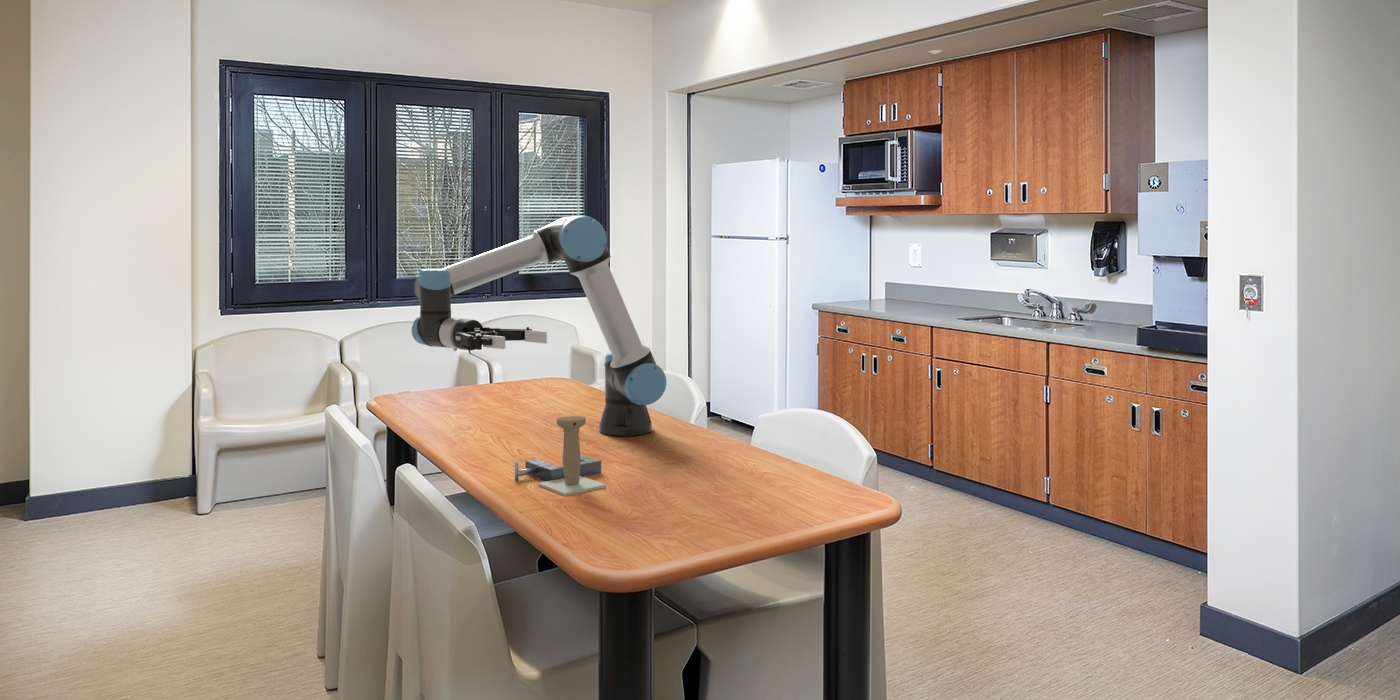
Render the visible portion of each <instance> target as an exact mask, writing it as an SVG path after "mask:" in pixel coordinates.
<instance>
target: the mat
mask: <svg viewBox="0 0 1400 700" xmlns="http://www.w3.org/2000/svg"><path fill="white" fill-rule="evenodd" d="M578 478H580V479H579V483H578V484H575V485H567V484H565V481H564V478H562V479H556V480H551V481H541V482H538V484H537V486H538V487H541V488H543V489H546V490H549V491H551V492H554V493H556V494H558V495H561V496H564V497H567V496H571V495H575V494H581V493H585V492H591V491H594V490H600V489H605V488H607V484H605V483H602V482H600V481H597V480H593V479H591V478H588V477H587V476H580V475H579V477H578Z"/></svg>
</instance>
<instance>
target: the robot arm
mask: <svg viewBox="0 0 1400 700" xmlns="http://www.w3.org/2000/svg"><path fill="white" fill-rule="evenodd" d="M607 238H608V237H607V233H606V230H605V228H604V227H603V225H602V224H601V223H600V222H599V221H598V220H597V219H595V218H593V217H591V216H588V215H584V214H577V215H567V216H563V217H561V218H559V219H557V220H555V221H553V222H551V223H548V224H546V225H544V226H543V227H540V228H538V229H535V230H532V233H531V235H529V236H526V237H524V238H521V239H519V240H516V241H513V242H510V243H508V244H505V245H503V246H500V247H497V248H494V249H491V250H489V251H486V252H483V253H481V254H479V255H478V254H477V255H476V256H473V257H470V258H468V259H465V260H462V261H460V262H456V263H454V264H451V265H448V266H446V267H443V268H423V269H421V270H420V271H419V274H418V275H419V276H418V277H417V278H416V279H415V282H414V284H413V292H414V296H416V298H417V299H418V300H419V307H420V310H419V311H420V313H419V316H418V317H416V318H415V319H414V320H413V324H412V326H411V335H412V338H413V340H414V341H416V343H418V344H420V345H425V346H427V347H428V346H429V347H431V348H433V347H434V348H435V347H436V348H437V347H438V348H447V349H452V350H453V351H454V352H456V351H458V349H459V350H465V351H475V350H477V351H479V350H483V348H488V349H489V348H491V349H499V350H505V349H506V341H515V342H516V341H517V342H518V341H524V342H529V343H536V344H537V343H538V344H547V343H548V332H547V331H541V330H533V329H532V328H530V327H529V326H526V328H525V329H524V328H523V329H522V328H500V327H489V326H483V325H482V324H481V322H480V321H478V320H476V319H470V318H460V317H452V307H451V306H452V305H451V303H452V300H451V298H452V296H454V295H457V294H459V293H460V294H461V293H462V292H465V291H468V290H470V289H473V288H475V287H479V286H481V285H484V284H486V283H489V282H491V281H494V280H497V279H500V278H503V277H505V276H508V275H510V274H513V273H516V272H518V271H521V270H524V269H526V268H527V269H528V268H529V267H531V266H534V265H537V264H540V263H543V264H546V265H547V264H550V263H552V262H553V263H554V262H557V261H560V260H561V261H562V260H563V261H564V262H565V265H566V267H567V269H568V272H569V274H570V275H573V276H574V277H575V276H576V277H577V278H578V281H580V284H581V287H582V289H583V291H584V294H585V296H586V298H587V301H588V303H589V305H590V307H591V310H592V313H593V315H594V317H595V320H596V321H597V323H598V326H599V328H600V330H601V333H602V336H603V337H604V338H603V339H604V340H605V342H606V344H607V347H608V350H609V351H610V352H608V353H607V354H605V358H604V359H605V360H604V365H603V366H604V385H605V386H604V393H605V394H604V397H605V399H604V400H605V401H604V402H605V403H604V404H605V405H604V408H603V411H602V414H601V418H600V421H599V425H598V426H599V432H600V433H601V434H603V435H608V436H618V437H630V436H631V437H632V436H641V435H646V434H650V433H651V432H653V424H652V423H653V422H652V420H651V417H650V413H649V410H648V407H647V406H649V405H652V404H654V403H656V402H658V401H659V400H660V399H661V398H662V396H663V395H664V393H665V391H666V388H667V385H668V384H667V383H668V382H667V376H666V374H665V372H664V370H663V368H661V367H660V366H659V364H657V362H656V360H655V358H654V356H653V354H652V351H651V348H650V347H647V346H645V345H643V343H642V342H641V339H640V337H639V334H638V332H637V330H636V328H635V325H634V322H633V320H632V319H631V315H630V314H629V311H628V309H627V306H626V304H625V301H624V299H623V297H622V294H621V292H620V290H619V287H618V285H617V283H616V280H615V278H614V275H613V274H612V271H611V268H610V266H609V262H610V260H611V257H612V256H611V254H610V251H609V248H608V246H607V243H608V242H607Z"/></svg>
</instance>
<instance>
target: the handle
mask: <svg viewBox="0 0 1400 700" xmlns="http://www.w3.org/2000/svg"><path fill="white" fill-rule="evenodd" d="M586 419H587V418H586V417H585V416H573V415H572V416H561V417H557V418H556V425H557V426H558V427H560V428H561V429H563V446H562V448H563V449H562V465H563V472H564V477H565V478H564V481H565V484H567V485H575V484H578V483H579V479H580V478H578V477H579V475H580V466H581V462H580V461H581V459H580V454H581V449H580V448H581V447H580V428H581V427H583V426H584V425H586V423H587V422H586V421H587V420H586Z"/></svg>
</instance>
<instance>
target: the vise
mask: <svg viewBox="0 0 1400 700" xmlns="http://www.w3.org/2000/svg"><path fill="white" fill-rule="evenodd" d="M580 459H581V461H580V462H581V466H580V476H583V477H588V476H592V475H597V474H601V473H602V460H600V459H597V458H594V457H590V456H587V455H585V454H582V453H580ZM528 475H529V476H532V477H535V478H537V479H540V480H542V481H544V482H546V481H551V480H556V479H562V478H565V477H564V472H563V464H561V465H554V464H552V463H550V462H546V461H543V460H541V459H538V458H535V459H528V460H525V468H524V469H519V461H517V460H516V461H514V481H515V482H517V481H519V477H523V476H528Z"/></svg>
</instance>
